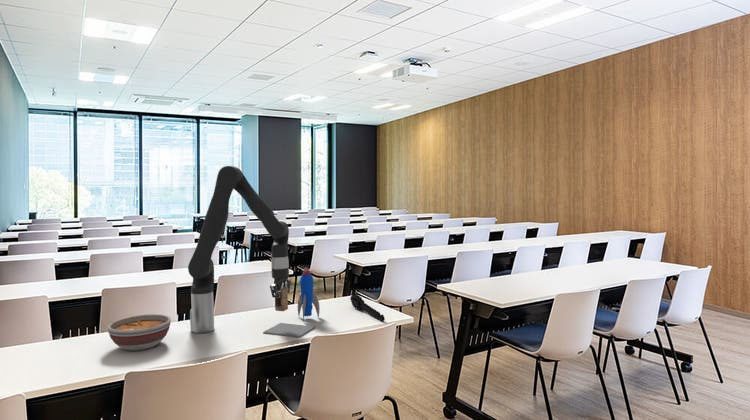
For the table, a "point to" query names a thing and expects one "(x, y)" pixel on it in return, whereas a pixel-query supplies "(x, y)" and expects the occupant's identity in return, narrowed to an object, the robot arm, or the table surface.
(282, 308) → the walnut block
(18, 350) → the table surface
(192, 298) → the robot arm
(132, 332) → the bowl
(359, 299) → the black long tapered piece
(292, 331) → the rubber mat
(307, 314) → the toy rocket
